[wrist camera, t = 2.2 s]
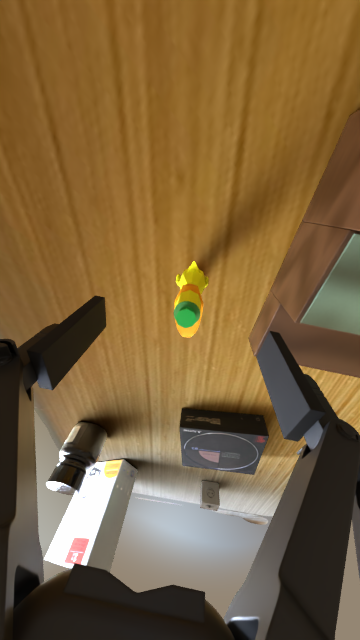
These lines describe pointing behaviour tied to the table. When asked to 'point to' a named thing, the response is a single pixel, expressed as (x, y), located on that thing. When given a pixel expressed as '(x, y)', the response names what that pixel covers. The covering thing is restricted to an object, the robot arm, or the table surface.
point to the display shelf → (322, 271)
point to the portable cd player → (222, 440)
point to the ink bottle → (77, 457)
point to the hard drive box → (94, 517)
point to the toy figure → (189, 300)
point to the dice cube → (209, 495)
